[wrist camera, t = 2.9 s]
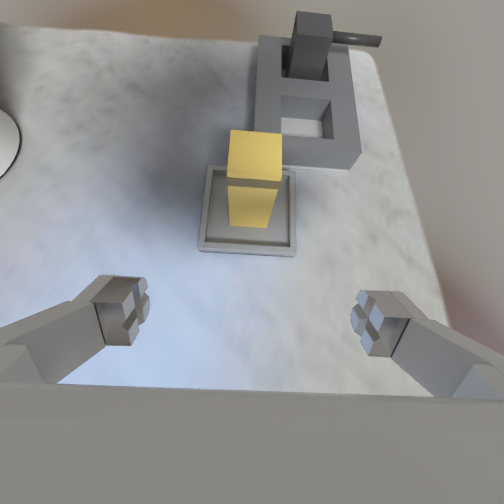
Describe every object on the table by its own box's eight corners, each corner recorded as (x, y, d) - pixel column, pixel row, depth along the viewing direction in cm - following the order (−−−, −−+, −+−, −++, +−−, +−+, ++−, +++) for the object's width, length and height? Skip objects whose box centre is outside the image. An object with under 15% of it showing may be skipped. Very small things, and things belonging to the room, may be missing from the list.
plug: (229, 226, 25) (226, 173, 17) (232, 193, 27) (230, 128, 18) (267, 228, 26) (282, 177, 17) (267, 195, 27) (282, 133, 18)
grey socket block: (251, 165, 29) (256, 110, 22) (256, 63, 34) (262, -7, 27) (363, 173, 29) (403, 123, 22) (350, 72, 35) (379, 7, 28)
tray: (199, 251, 25) (197, 247, 23) (209, 172, 28) (207, 164, 27) (293, 257, 25) (296, 253, 24) (292, 178, 28) (294, 171, 27)
